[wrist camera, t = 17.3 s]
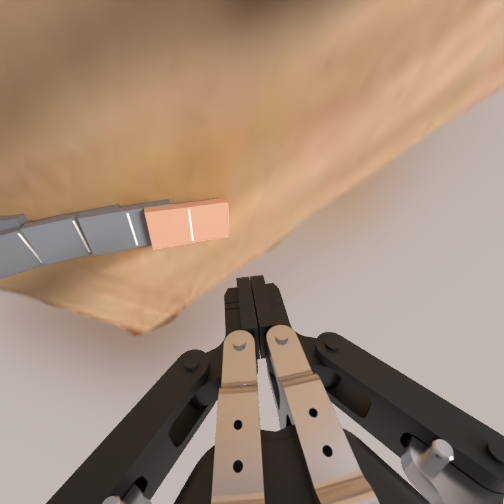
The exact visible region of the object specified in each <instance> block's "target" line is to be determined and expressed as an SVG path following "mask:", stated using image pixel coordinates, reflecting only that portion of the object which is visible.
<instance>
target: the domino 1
mask: <svg viewBox="0 0 504 504" xmlns="http://www.w3.org/2000/svg"><path fill="white" fill-rule="evenodd" d="M25 223H29V222H28V221H27V219H26V217H25V215H24V214H21V215H10V216H0V231H3V230H7V229H11V228H14V227H18V226H22V225H24V224H25Z"/></svg>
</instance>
